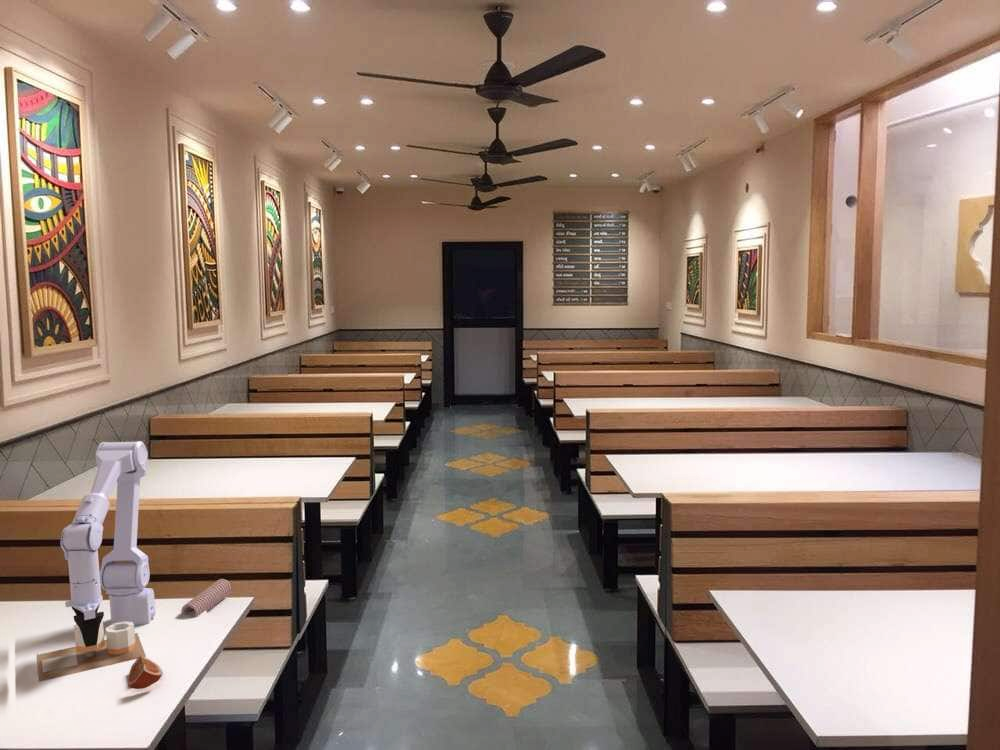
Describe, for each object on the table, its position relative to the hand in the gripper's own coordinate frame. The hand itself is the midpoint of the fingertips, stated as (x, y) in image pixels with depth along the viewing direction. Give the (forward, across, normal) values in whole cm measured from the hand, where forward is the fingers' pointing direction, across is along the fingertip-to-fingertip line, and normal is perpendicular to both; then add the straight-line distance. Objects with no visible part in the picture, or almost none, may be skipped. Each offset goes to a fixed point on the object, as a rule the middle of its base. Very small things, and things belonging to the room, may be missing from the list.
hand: (89, 640), depth 175 cm
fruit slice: (+5, +17, +8) cm, 20 cm away
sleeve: (+1, 0, 0) cm, 1 cm away
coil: (+6, -17, +27) cm, 33 cm away
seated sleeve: (+3, 0, +6) cm, 7 cm away
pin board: (+5, 0, 0) cm, 5 cm away
